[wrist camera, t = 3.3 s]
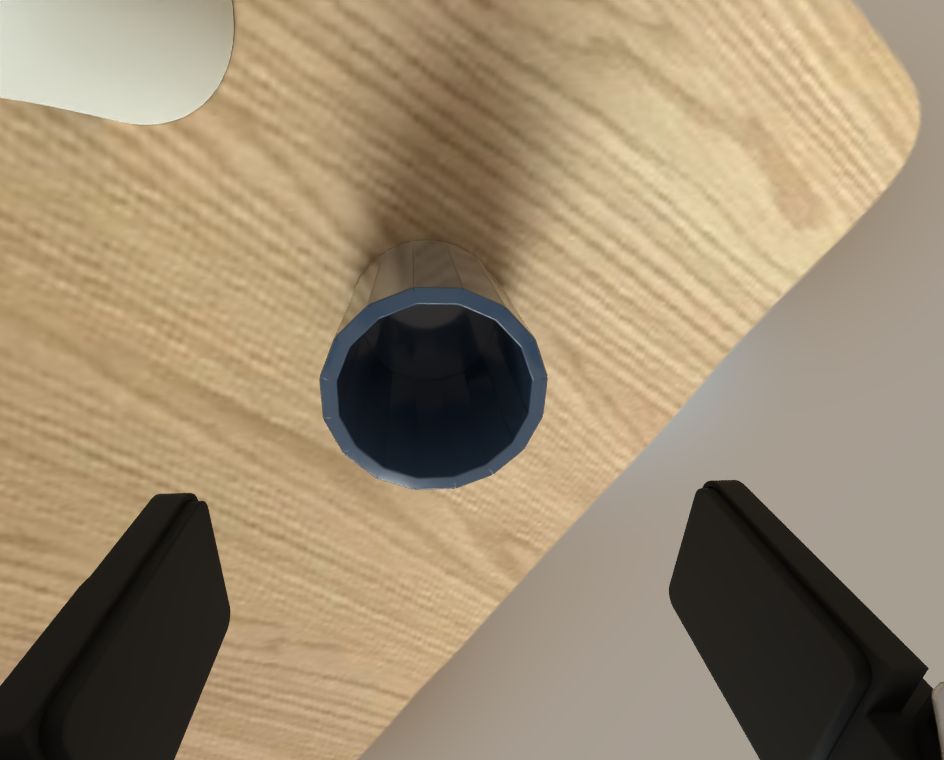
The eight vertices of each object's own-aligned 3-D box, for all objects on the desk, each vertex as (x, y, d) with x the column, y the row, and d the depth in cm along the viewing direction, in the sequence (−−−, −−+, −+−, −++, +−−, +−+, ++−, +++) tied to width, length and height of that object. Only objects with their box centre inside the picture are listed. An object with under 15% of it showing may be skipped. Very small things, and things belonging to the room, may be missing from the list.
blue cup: (348, 237, 21) (310, 285, 13) (506, 241, 21) (558, 289, 14) (356, 382, 23) (329, 493, 16) (496, 382, 24) (534, 486, 17)
